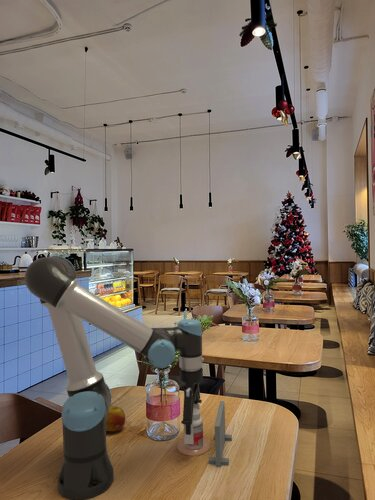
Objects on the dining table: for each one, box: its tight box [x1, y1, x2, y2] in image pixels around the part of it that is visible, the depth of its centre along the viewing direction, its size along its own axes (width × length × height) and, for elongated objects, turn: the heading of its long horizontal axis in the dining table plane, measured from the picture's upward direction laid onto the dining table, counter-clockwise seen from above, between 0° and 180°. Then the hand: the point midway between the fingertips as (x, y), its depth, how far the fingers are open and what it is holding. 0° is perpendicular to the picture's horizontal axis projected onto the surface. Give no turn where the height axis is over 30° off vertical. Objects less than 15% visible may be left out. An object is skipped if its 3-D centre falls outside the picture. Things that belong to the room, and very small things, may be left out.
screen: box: [208, 400, 233, 468], centre depth 121 cm, size 18×6×12 cm, turn 170°
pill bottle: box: [184, 409, 204, 450], centre depth 123 cm, size 6×6×11 cm
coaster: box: [176, 437, 212, 457], centre depth 123 cm, size 11×11×1 cm
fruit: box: [106, 405, 126, 432], centre depth 137 cm, size 10×9×8 cm
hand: (192, 432), depth 123 cm, fingers open, 13 cm apart
